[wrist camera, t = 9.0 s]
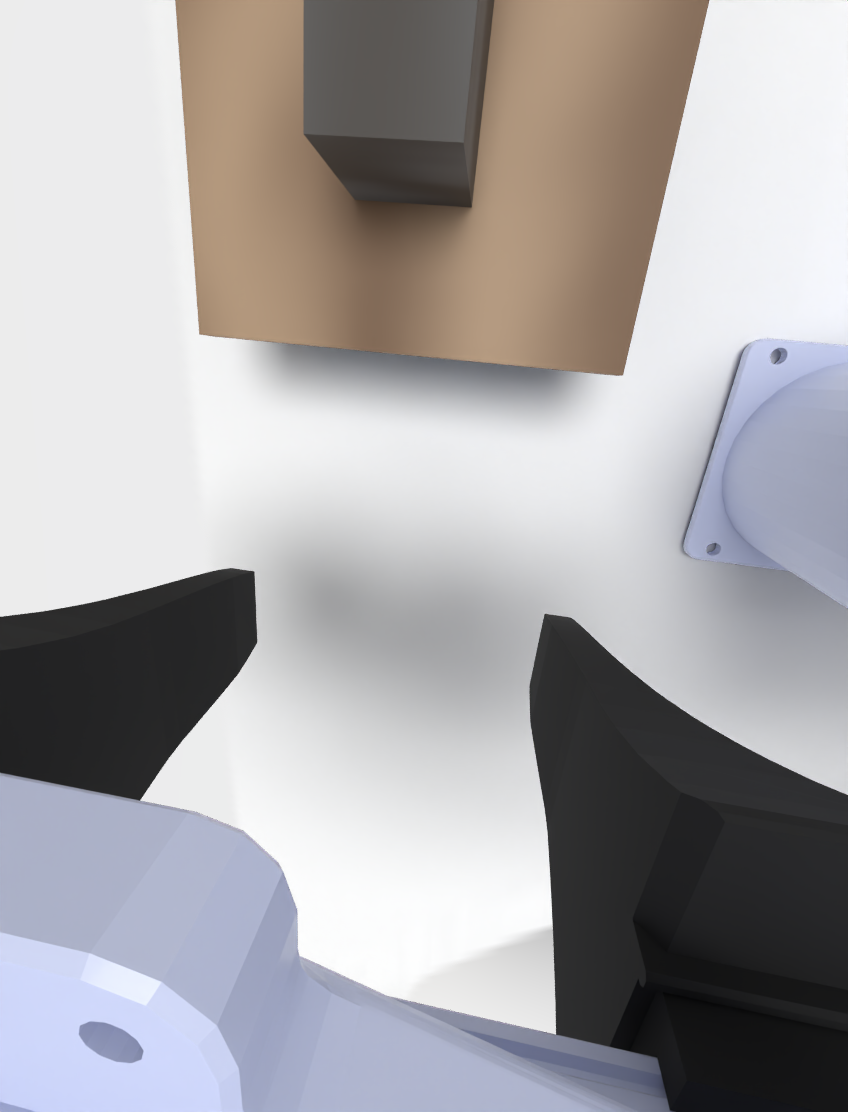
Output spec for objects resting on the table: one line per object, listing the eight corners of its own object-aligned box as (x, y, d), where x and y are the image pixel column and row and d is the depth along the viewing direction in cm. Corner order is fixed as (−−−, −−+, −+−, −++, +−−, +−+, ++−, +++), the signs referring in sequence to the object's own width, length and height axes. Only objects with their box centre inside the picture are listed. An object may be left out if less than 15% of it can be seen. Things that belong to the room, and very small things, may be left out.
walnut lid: (767, -297, 9) (984, -832, 5) (615, 375, 13) (667, 374, 9) (176, -277, 10) (-30, -701, 6) (214, 336, 14) (108, 320, 11)
